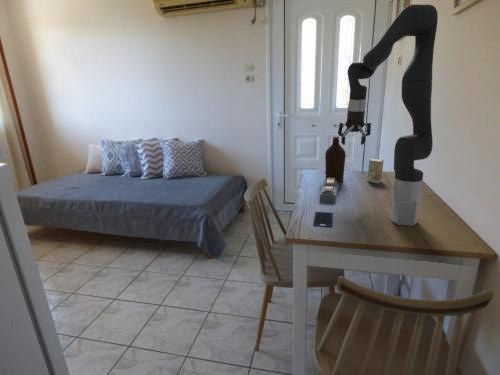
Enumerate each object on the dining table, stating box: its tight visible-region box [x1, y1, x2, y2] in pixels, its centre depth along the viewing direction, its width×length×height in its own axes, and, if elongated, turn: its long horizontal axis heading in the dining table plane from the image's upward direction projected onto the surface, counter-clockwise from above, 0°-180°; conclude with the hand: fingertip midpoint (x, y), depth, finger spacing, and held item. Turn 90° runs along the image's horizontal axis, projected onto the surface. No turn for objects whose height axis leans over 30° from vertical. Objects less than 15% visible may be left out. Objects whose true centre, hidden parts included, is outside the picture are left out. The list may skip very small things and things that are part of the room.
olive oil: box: [324, 136, 346, 185], centre depth 164 cm, size 11×11×25 cm
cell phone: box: [312, 211, 334, 228], centre depth 122 cm, size 7×14×1 cm, turn 164°
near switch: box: [324, 186, 333, 191], centre depth 143 cm, size 5×4×1 cm
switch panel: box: [319, 179, 339, 203], centre depth 149 cm, size 22×7×4 cm, turn 161°
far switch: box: [327, 178, 335, 184], centre depth 154 cm, size 5×4×1 cm
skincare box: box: [366, 158, 384, 184], centre depth 163 cm, size 6×4×12 cm
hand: (352, 144), depth 143 cm, fingers open, 8 cm apart
